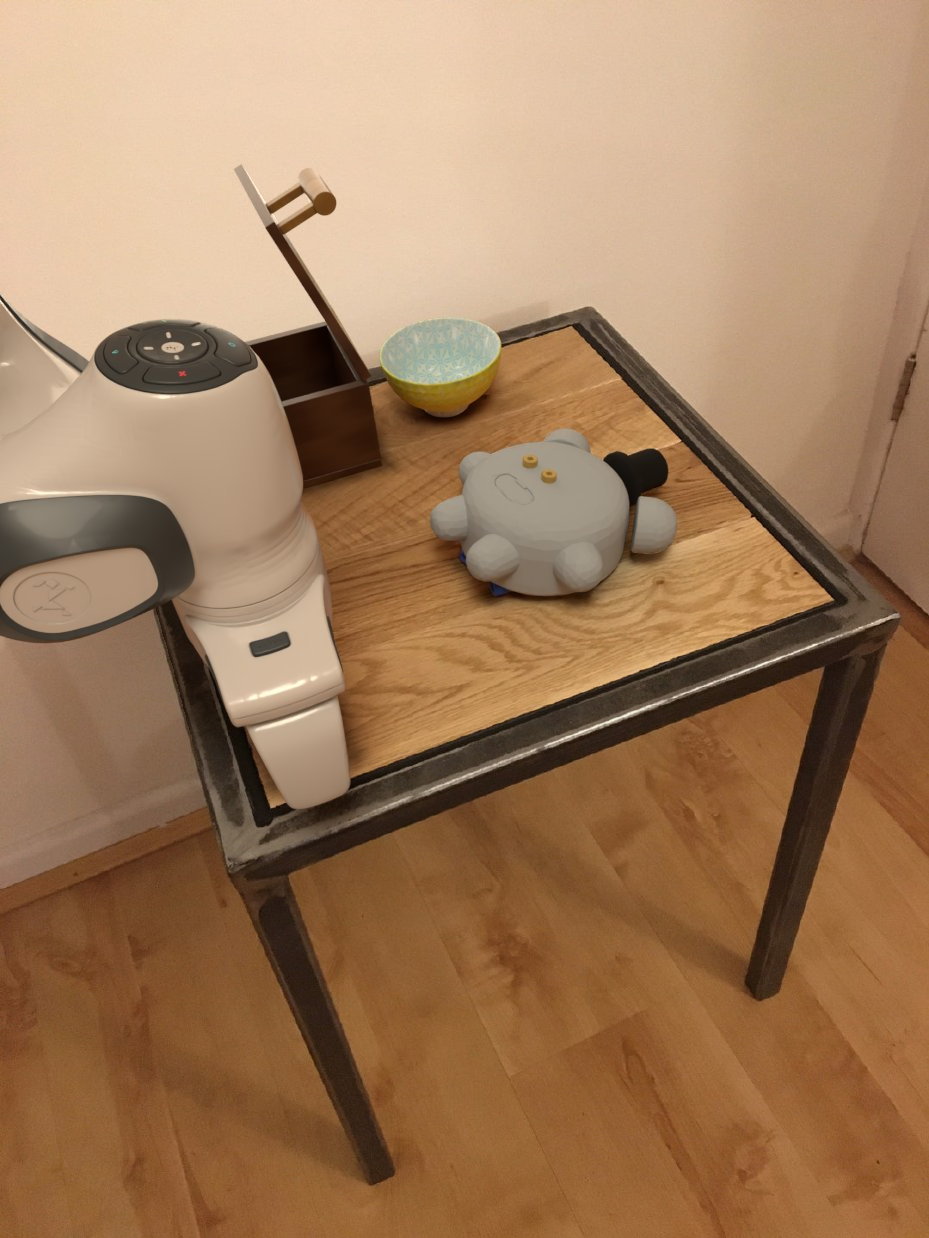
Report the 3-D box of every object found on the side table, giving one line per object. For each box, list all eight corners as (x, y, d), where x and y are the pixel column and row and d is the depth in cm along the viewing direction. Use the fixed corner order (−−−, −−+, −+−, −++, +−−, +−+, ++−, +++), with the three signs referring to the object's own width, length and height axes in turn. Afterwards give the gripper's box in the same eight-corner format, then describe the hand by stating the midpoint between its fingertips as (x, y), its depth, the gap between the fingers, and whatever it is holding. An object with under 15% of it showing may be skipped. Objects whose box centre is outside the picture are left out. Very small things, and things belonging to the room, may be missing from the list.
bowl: (364, 403, 94) (355, 347, 90) (457, 358, 98) (452, 303, 94) (432, 456, 88) (425, 399, 83) (528, 405, 92) (526, 348, 88)
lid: (265, 228, 69) (330, 185, 69) (233, 169, 76) (291, 130, 76) (364, 381, 81) (420, 345, 80) (327, 317, 88) (379, 284, 88)
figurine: (511, 658, 70) (716, 568, 78) (518, 571, 64) (739, 482, 72) (397, 529, 81) (588, 461, 88) (394, 444, 75) (599, 379, 82)
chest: (225, 511, 84) (198, 429, 78) (202, 439, 92) (175, 359, 86) (382, 465, 87) (368, 383, 81) (347, 399, 95) (332, 319, 88)
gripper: (170, 498, 62) (224, 639, 72) (233, 736, 48) (288, 868, 58) (265, 471, 63) (305, 613, 73) (352, 696, 50) (386, 832, 60)
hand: (298, 728), depth 66 cm, fingers closed on block, 5 cm apart
